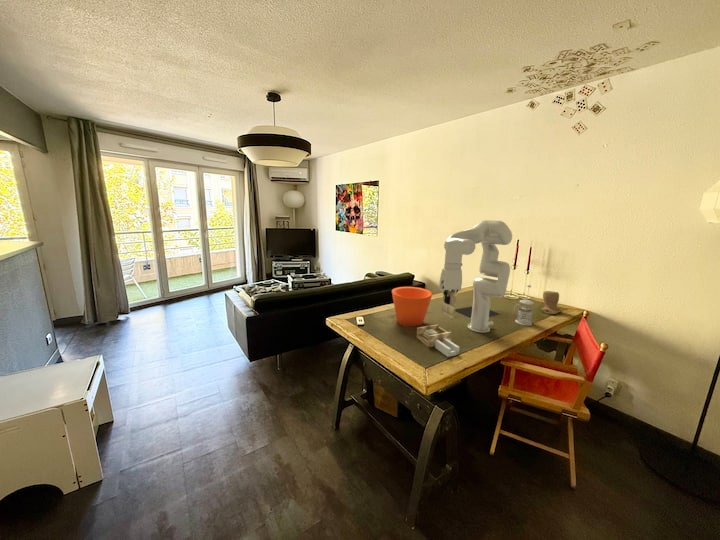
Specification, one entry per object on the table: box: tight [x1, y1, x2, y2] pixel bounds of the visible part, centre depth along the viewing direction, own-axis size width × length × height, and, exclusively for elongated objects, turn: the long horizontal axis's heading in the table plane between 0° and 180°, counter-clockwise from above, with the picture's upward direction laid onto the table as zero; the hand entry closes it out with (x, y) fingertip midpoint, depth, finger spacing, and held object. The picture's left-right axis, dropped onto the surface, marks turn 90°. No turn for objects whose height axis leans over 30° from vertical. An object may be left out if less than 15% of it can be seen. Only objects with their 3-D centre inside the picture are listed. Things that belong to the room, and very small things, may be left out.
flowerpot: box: [391, 286, 433, 328], centre depth 169 cm, size 25×25×20 cm
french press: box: [513, 284, 535, 326], centre depth 172 cm, size 10×12×25 cm
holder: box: [433, 338, 460, 358], centre depth 134 cm, size 7×10×5 cm, turn 22°
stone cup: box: [540, 290, 562, 315], centre depth 193 cm, size 15×12×15 cm
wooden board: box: [441, 290, 458, 319], centre depth 131 cm, size 2×7×12 cm, turn 21°
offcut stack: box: [423, 329, 438, 341], centre depth 143 cm, size 5×7×6 cm
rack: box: [416, 323, 453, 348], centre depth 144 cm, size 14×11×7 cm
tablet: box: [455, 306, 502, 320], centre depth 191 cm, size 27×1×20 cm
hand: (449, 302), depth 130 cm, fingers closed on wooden board, 2 cm apart
